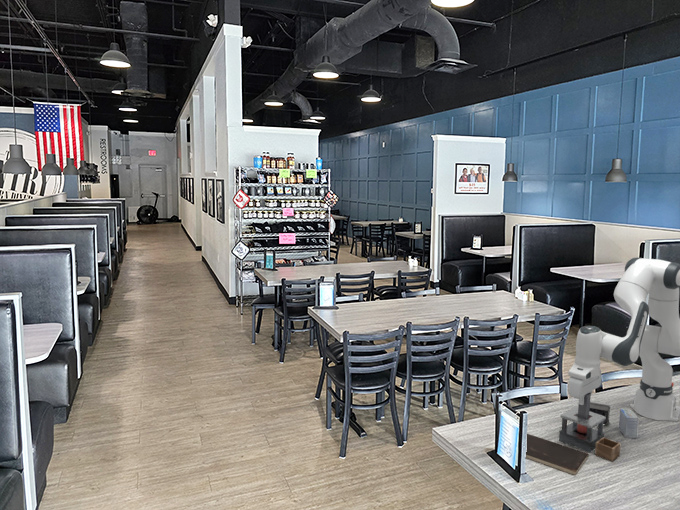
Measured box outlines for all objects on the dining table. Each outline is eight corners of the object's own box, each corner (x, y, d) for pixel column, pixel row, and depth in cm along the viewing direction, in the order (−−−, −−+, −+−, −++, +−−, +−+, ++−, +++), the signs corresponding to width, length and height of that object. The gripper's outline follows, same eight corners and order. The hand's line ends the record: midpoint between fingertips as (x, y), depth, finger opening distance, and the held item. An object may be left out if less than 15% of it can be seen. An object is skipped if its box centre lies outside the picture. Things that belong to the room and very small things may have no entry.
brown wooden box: (602, 449, 192) (603, 437, 192) (619, 456, 188) (620, 443, 187) (594, 454, 188) (595, 442, 188) (612, 461, 184) (613, 449, 183)
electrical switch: (608, 422, 214) (610, 402, 212) (609, 428, 210) (610, 408, 208) (584, 417, 218) (585, 398, 216) (584, 423, 214) (585, 404, 212)
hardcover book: (575, 477, 175) (575, 471, 175) (510, 454, 190) (510, 448, 189) (588, 458, 187) (588, 452, 187) (526, 438, 202) (526, 432, 201)
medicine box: (637, 438, 200) (639, 418, 199) (624, 437, 201) (626, 417, 200) (630, 429, 208) (631, 409, 207) (618, 428, 209) (620, 408, 208)
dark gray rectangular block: (581, 415, 199) (583, 390, 197) (588, 417, 197) (590, 393, 195) (577, 417, 197) (579, 392, 196) (585, 420, 195) (587, 395, 193)
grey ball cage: (573, 430, 207) (575, 406, 205) (603, 442, 197) (605, 416, 196) (558, 440, 199) (560, 414, 197) (589, 452, 190) (592, 426, 188)
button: (579, 427, 200) (580, 415, 199) (588, 431, 197) (589, 418, 197) (575, 430, 198) (576, 418, 197) (584, 434, 195) (585, 421, 194)
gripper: (590, 360, 203) (588, 393, 205) (566, 372, 190) (563, 407, 192) (607, 364, 198) (604, 398, 200) (583, 377, 185) (580, 412, 187)
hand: (584, 402), depth 196 cm, fingers closed on dark gray rectangular block, 3 cm apart
